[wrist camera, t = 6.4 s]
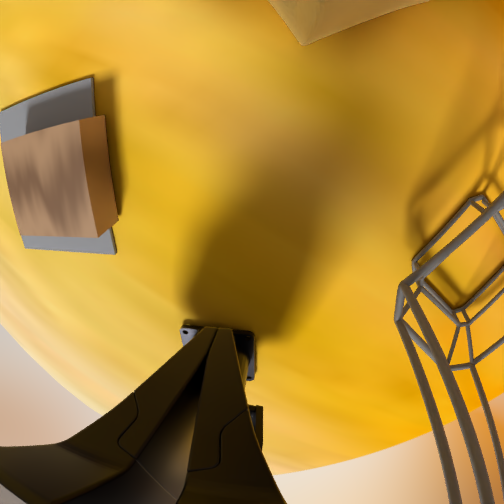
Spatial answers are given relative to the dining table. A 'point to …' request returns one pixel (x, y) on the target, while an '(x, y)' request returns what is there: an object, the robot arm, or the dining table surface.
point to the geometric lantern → (451, 352)
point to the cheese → (331, 15)
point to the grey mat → (48, 115)
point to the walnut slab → (61, 180)
